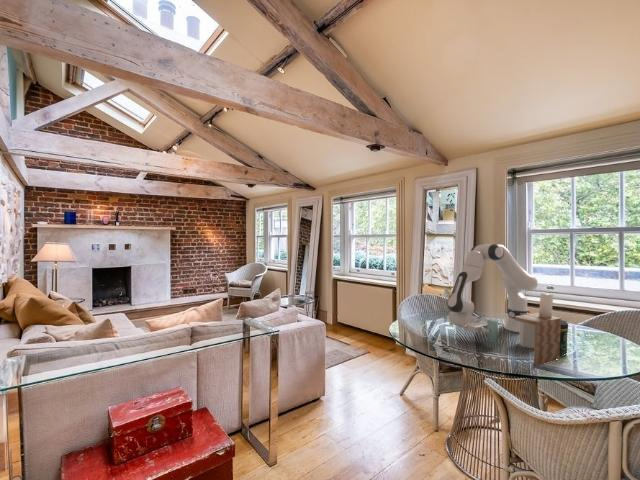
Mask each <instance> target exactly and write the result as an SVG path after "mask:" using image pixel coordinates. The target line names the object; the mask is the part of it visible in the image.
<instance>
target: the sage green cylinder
mask: <svg viewBox="0 0 640 480" xmlns="http://www.w3.org/2000/svg"><path fill="white" fill-rule="evenodd" d="M487 319H488V320H487V329H491V332H489V333H488V332H486V342H488V343H491V344H492V343H493V344H496V343H498V337H499V335H498V334H499V332H498V331H499V320H497V319H492V318H487Z"/></svg>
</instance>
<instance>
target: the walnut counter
mask: <svg viewBox="0 0 640 480" xmlns="http://www.w3.org/2000/svg"><path fill="white" fill-rule="evenodd" d="M514 320H516V321H520V322H523V323H527V324H531V325H535V345H534V348H533V349H534V350H533V365H534V364H535V365H539V366H541V365H540V364H542V365H545V364H544V363H546V364H548V363H547V362H549V363H552V362H555V361H554V360H556V359H559V360H560V356H559V352H560V329H561V320H562V318H561V317H557V316H554V315H552V317H551V318H545V317H541V316H539V312H531V313H529V314H526V315H520V316H515V319H514ZM551 361H552V362H551ZM556 361H557V360H556ZM535 365H534V366H535Z"/></svg>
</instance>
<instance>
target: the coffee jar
mask: <svg viewBox="0 0 640 480" xmlns="http://www.w3.org/2000/svg"><path fill="white" fill-rule="evenodd" d="M568 331H569V323H568V322H567V321H566V320H562V319H561V329H560V352H559V355H564V354H566V353H567V354H568V333H569V332H568ZM567 354H566V355H567ZM564 356H565V355H564Z"/></svg>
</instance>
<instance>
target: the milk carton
mask: <svg viewBox="0 0 640 480" xmlns="http://www.w3.org/2000/svg"><path fill="white" fill-rule="evenodd" d="M527 314H530V313H527ZM518 340H519V342H518V344H519V345H520V346H521V347H522V348H526V349H527V348H529V349H534V345H535V325H531V324H527V323H523V322H520V333H519V339H518Z"/></svg>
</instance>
